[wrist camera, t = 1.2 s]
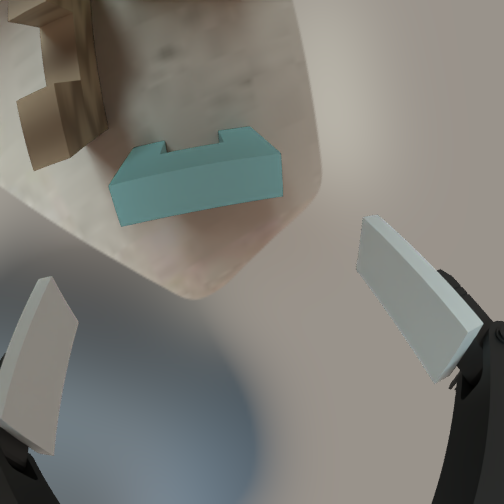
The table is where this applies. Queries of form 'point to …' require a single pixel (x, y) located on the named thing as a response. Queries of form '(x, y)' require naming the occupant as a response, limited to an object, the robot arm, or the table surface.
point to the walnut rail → (61, 81)
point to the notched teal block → (196, 177)
